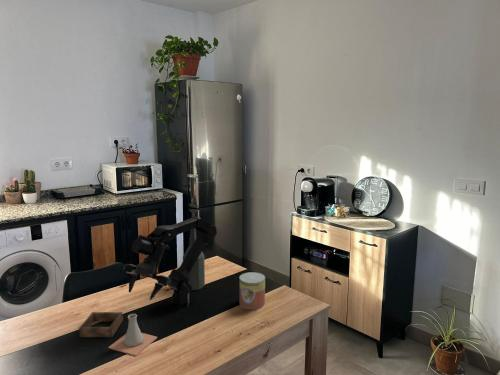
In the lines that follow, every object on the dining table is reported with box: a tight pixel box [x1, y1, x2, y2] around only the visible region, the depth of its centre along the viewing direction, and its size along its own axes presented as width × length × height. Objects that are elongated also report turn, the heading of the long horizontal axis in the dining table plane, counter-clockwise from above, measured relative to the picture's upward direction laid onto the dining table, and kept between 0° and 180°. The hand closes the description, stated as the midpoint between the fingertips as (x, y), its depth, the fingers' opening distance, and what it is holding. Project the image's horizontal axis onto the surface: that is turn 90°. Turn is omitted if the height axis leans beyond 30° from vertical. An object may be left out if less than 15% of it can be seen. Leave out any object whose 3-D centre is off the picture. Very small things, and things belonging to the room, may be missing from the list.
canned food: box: [238, 271, 266, 310], centre depth 166 cm, size 11×11×12 cm
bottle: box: [182, 228, 206, 291], centre depth 181 cm, size 10×10×30 cm
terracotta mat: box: [107, 332, 158, 357], centre depth 137 cm, size 12×12×1 cm
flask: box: [123, 313, 144, 347], centre depth 136 cm, size 7×7×10 cm
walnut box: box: [78, 311, 124, 338], centre depth 146 cm, size 12×12×4 cm
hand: (139, 296), depth 149 cm, fingers open, 9 cm apart
